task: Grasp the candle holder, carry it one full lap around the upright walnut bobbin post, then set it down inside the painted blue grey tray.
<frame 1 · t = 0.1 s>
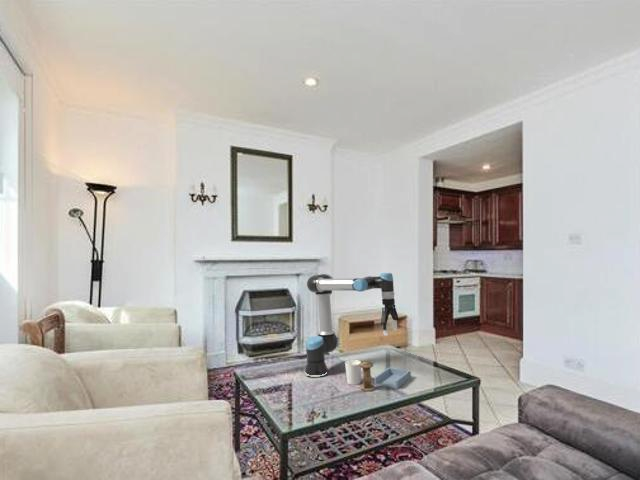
hand: (390, 333, 211), 28 cm above the table, fingers open, 13 cm apart
bobbin post: (367, 388, 197), on the table
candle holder: (354, 382, 209), on the table
blue grey tray: (393, 381, 206), on the table
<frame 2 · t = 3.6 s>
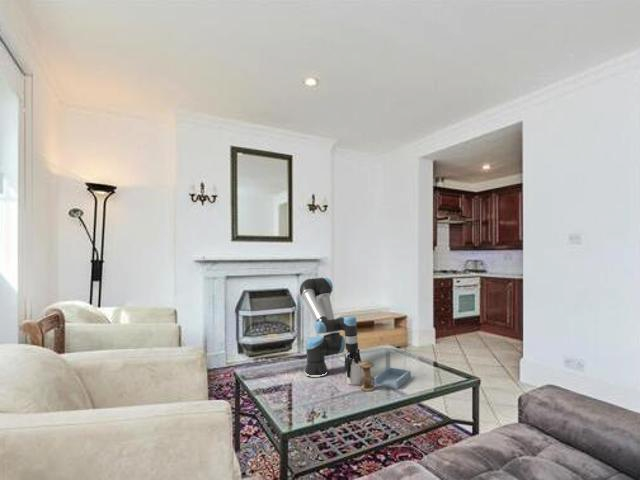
hand: (354, 379, 209), 2 cm above the table, fingers closed on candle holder, 9 cm apart
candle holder: (354, 382, 209), on the table, touching gripper
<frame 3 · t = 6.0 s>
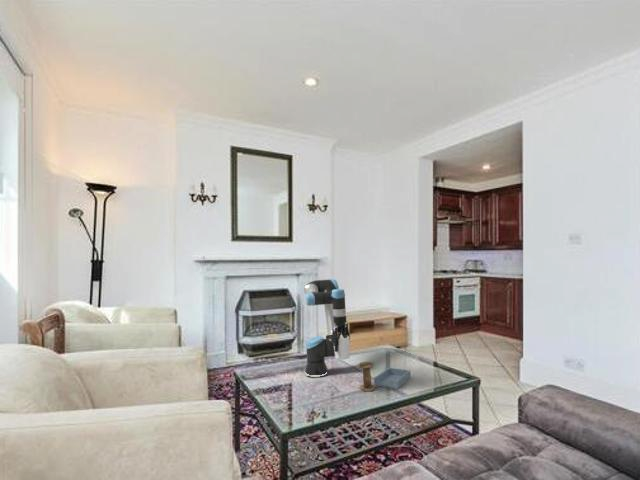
hand: (342, 354, 200), 20 cm above the table, fingers closed on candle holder, 9 cm apart
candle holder: (342, 357, 200), point 18 cm above the table, touching gripper
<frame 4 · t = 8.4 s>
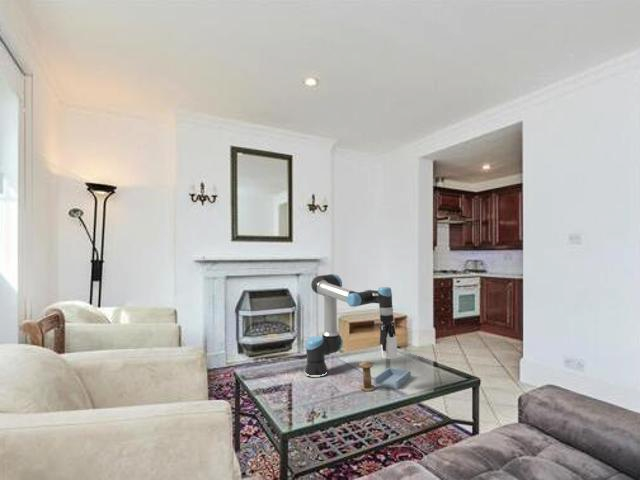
hand: (389, 353, 197), 19 cm above the table, fingers closed on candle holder, 9 cm apart
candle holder: (389, 356, 197), point 18 cm above the table, touching gripper
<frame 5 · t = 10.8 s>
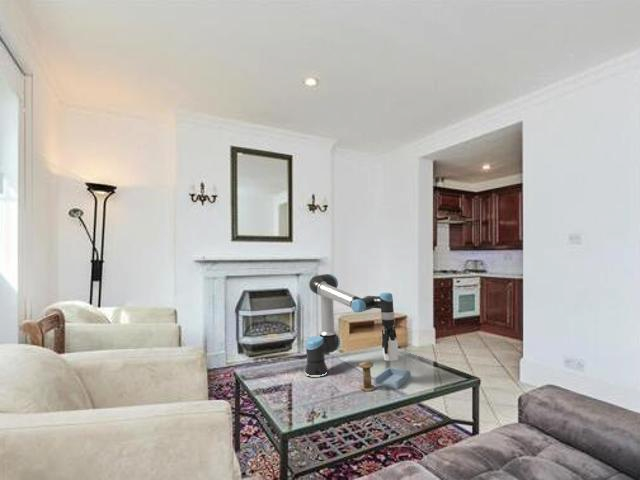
hand: (390, 356, 206), 15 cm above the table, fingers closed on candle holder, 9 cm apart
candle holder: (391, 359, 206), point 13 cm above the table, touching gripper
when the fingers open (4 cm above the table, at t = 13.2 s): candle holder drops 1 cm, resting on blue grey tray.
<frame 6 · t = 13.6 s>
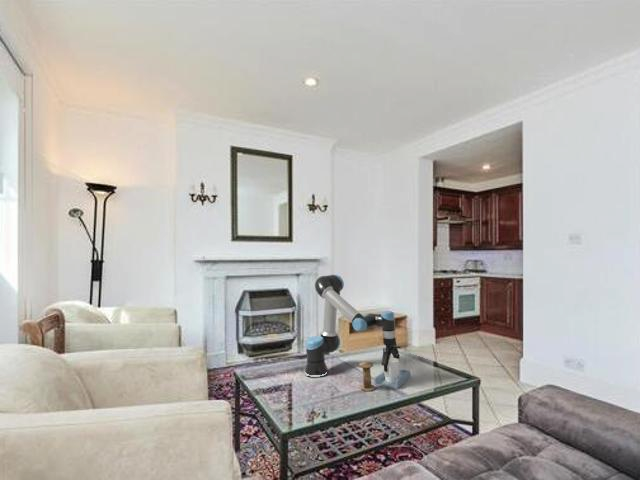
hand: (391, 373, 206), 5 cm above the table, fingers open, 13 cm apart
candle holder: (392, 380, 206), point 1 cm above the table, touching blue grey tray
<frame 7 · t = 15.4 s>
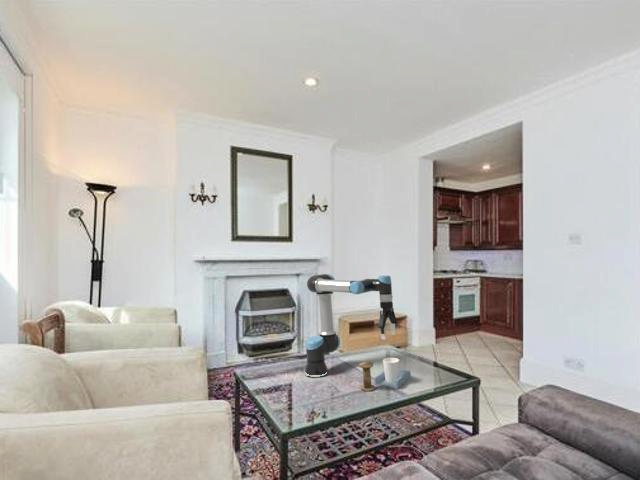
hand: (388, 336, 207), 27 cm above the table, fingers open, 13 cm apart
nothing on the table moved.
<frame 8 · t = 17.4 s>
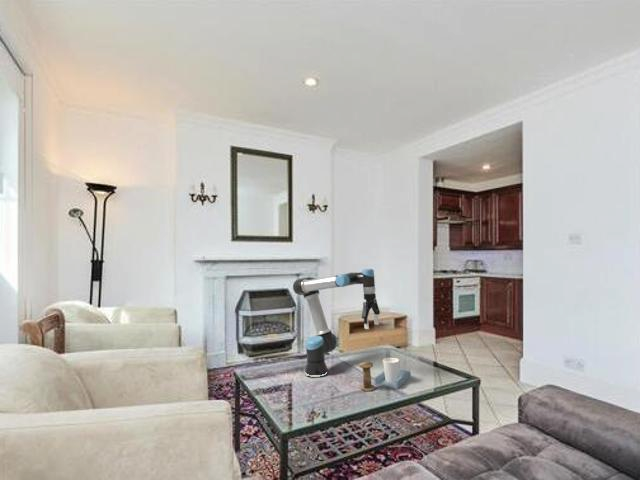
hand: (371, 326, 219), 31 cm above the table, fingers open, 13 cm apart
nothing on the table moved.
at the end: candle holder inside the target area on the blue grey tray (0.0 cm from its centre), point 0.6 cm above the blue grey tray's base; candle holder tilted 0°; the gripper is holding nothing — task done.
